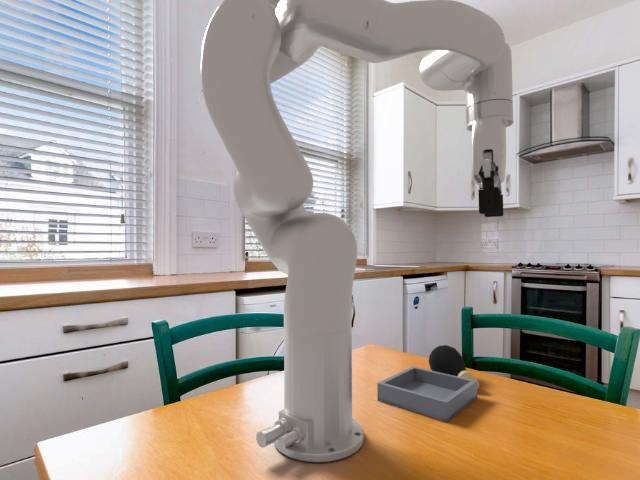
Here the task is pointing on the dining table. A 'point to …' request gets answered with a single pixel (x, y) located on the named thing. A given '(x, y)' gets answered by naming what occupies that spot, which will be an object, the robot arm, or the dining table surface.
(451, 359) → the light bulb
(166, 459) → the dining table surface
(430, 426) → the dining table surface
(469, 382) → the parts tray
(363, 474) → the dining table surface
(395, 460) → the dining table surface
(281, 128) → the robot arm
